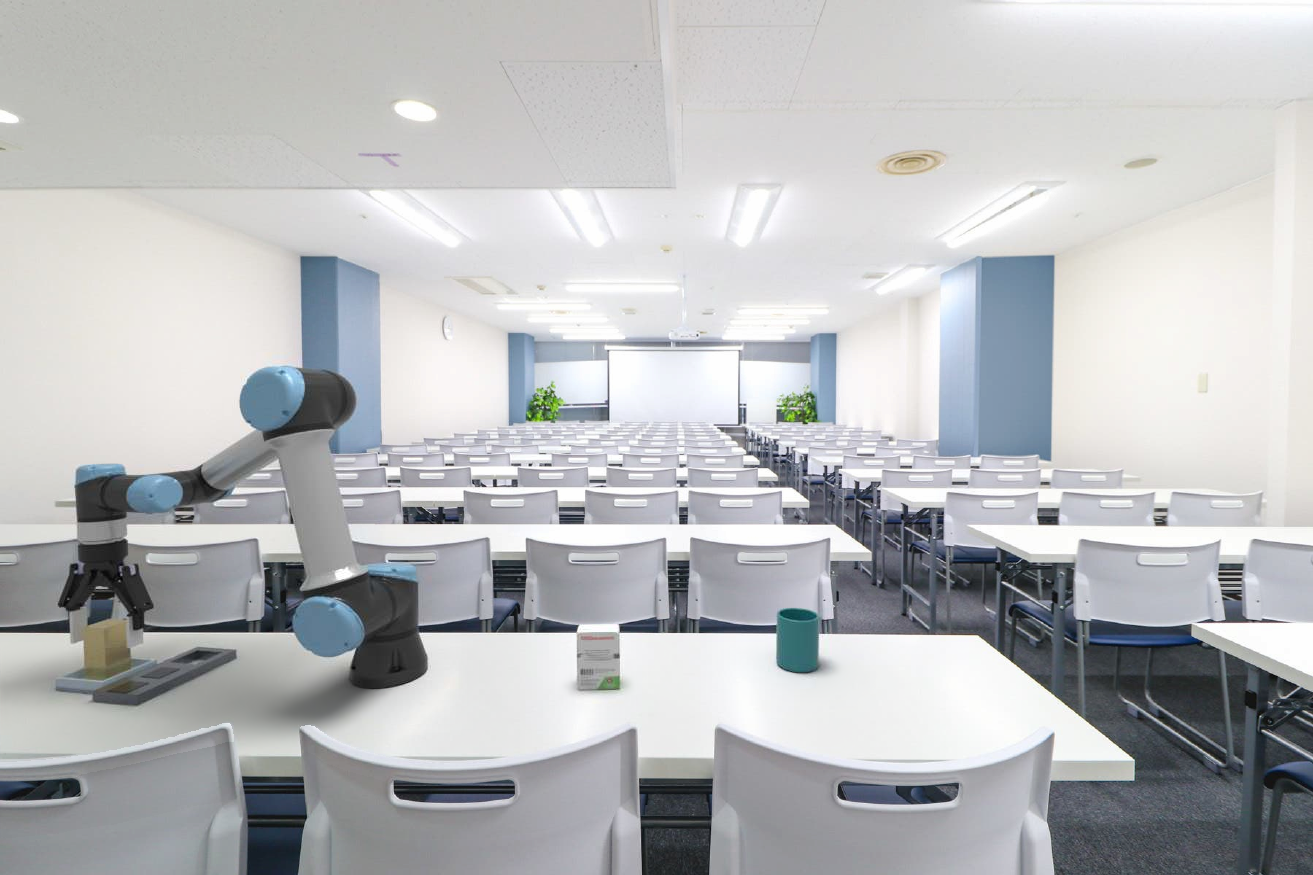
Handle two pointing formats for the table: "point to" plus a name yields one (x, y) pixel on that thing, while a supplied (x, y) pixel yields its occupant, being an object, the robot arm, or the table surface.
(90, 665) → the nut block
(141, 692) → the grey slotted plate
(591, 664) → the ink box
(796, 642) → the cup
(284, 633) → the table surface
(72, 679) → the tray
